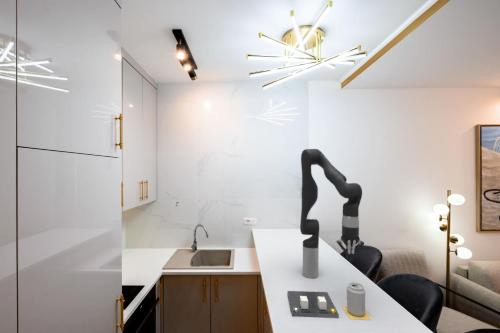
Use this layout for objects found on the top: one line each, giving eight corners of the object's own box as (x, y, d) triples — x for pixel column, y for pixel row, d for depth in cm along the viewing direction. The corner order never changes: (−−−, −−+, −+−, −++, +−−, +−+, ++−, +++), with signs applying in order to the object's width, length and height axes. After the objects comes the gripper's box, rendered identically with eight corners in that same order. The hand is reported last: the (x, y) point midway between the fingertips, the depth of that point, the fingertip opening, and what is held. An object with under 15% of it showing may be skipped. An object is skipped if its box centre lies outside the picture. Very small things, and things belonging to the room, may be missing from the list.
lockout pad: (342, 306, 110) (342, 306, 110) (362, 307, 109) (362, 306, 109) (349, 319, 101) (349, 318, 101) (371, 319, 100) (371, 319, 100)
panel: (287, 293, 121) (287, 288, 121) (327, 295, 120) (327, 289, 120) (291, 316, 103) (291, 309, 103) (338, 317, 102) (338, 311, 102)
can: (359, 306, 110) (359, 280, 110) (368, 316, 102) (369, 289, 102) (343, 307, 109) (343, 281, 109) (352, 318, 101) (352, 290, 101)
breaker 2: (317, 304, 109) (317, 296, 109) (324, 304, 108) (324, 296, 108) (319, 309, 105) (319, 301, 105) (326, 309, 104) (326, 301, 104)
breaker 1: (299, 303, 109) (299, 295, 109) (306, 303, 109) (306, 296, 109) (301, 308, 105) (301, 300, 105) (308, 309, 105) (308, 301, 105)
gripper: (338, 226, 110) (338, 263, 110) (368, 227, 109) (367, 264, 110) (333, 222, 117) (333, 257, 118) (361, 222, 117) (360, 257, 117)
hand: (350, 260), depth 114 cm, fingers closed
